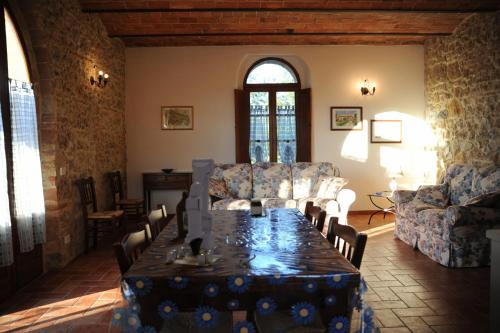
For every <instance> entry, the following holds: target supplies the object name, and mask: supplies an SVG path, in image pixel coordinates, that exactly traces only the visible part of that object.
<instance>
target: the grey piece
mask: <svg viewBox="0 0 500 333" xmlns="http://www.w3.org/2000/svg"><path fill="white" fill-rule="evenodd" d="M186 253H187V252H186V247H185V246H179V247H178V249H176V248H175V249H174V248H173V249H170V250H169V251H167V252H166V259H167V260H166V261H167V262H168V264H174V263H173V262H175V260H177V256H178V255H179V257H180V258H183V257H186ZM213 255H214V249H210V250H205V253H204V254H198V265H197V266H200V265H205V264H209V265H211V264H213V262H212V260H213ZM167 262H166V263H167Z"/></svg>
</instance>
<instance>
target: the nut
mask: <svg viewBox="0 0 500 333" xmlns="http://www.w3.org/2000/svg"><path fill="white" fill-rule="evenodd" d="M204 253H206V250H205V249H204V248H200V251H199V254H204ZM195 257H198V256H195Z"/></svg>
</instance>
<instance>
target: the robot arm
mask: <svg viewBox="0 0 500 333" xmlns="http://www.w3.org/2000/svg"><path fill="white" fill-rule="evenodd" d="M191 168H192V169H191V170H192V171H193V173H194V179H193V183H192V184H191V186H190V189H189V192H188V199H186V211H187V215H188V234H186V236H187V237H186V238H184V244H188V245H189V248H190V250H191V253H193V256H198V254H199V251H200V248H204V249H205V251H206V250H216V249H217V246H216V240H215V238H216V237H215V236H216V235H215V233H214V230H215V226H216V225H215V224H216V222H215V215H214V214H213V213H212V212H210V211H209V207H210V181H211V177H213V176H214V174H215V160H214V159H213V158H212V157H205V158H202V157H200V158H195V157H194V158H193V159H192V161H191Z"/></svg>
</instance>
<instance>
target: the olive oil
mask: <svg viewBox="0 0 500 333" xmlns="http://www.w3.org/2000/svg"><path fill="white" fill-rule="evenodd" d="M181 192H182V194H181V199H180V200H179V201H178V203H177V204H176V206H175V214H176V226H177V227H176V228H177V237H178V238H180V237H182V238H183V239H185V238H186V237H187V236H186V234H188V215H187V211H186V199H188V198H189V191H188V190H183V191H181Z"/></svg>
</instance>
